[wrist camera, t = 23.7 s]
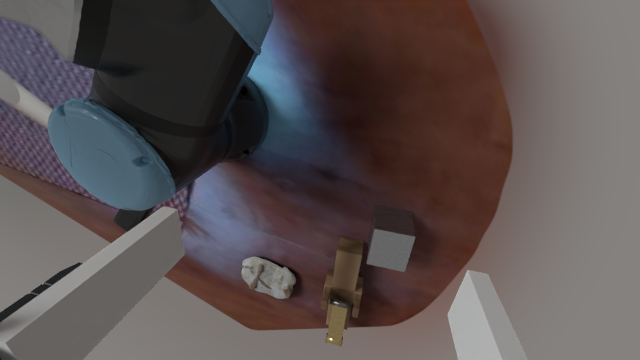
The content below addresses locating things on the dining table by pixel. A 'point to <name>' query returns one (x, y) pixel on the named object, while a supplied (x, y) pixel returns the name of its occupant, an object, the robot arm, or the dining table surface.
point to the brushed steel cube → (390, 238)
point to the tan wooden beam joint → (345, 278)
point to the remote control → (129, 218)
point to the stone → (268, 277)
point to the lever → (337, 321)
